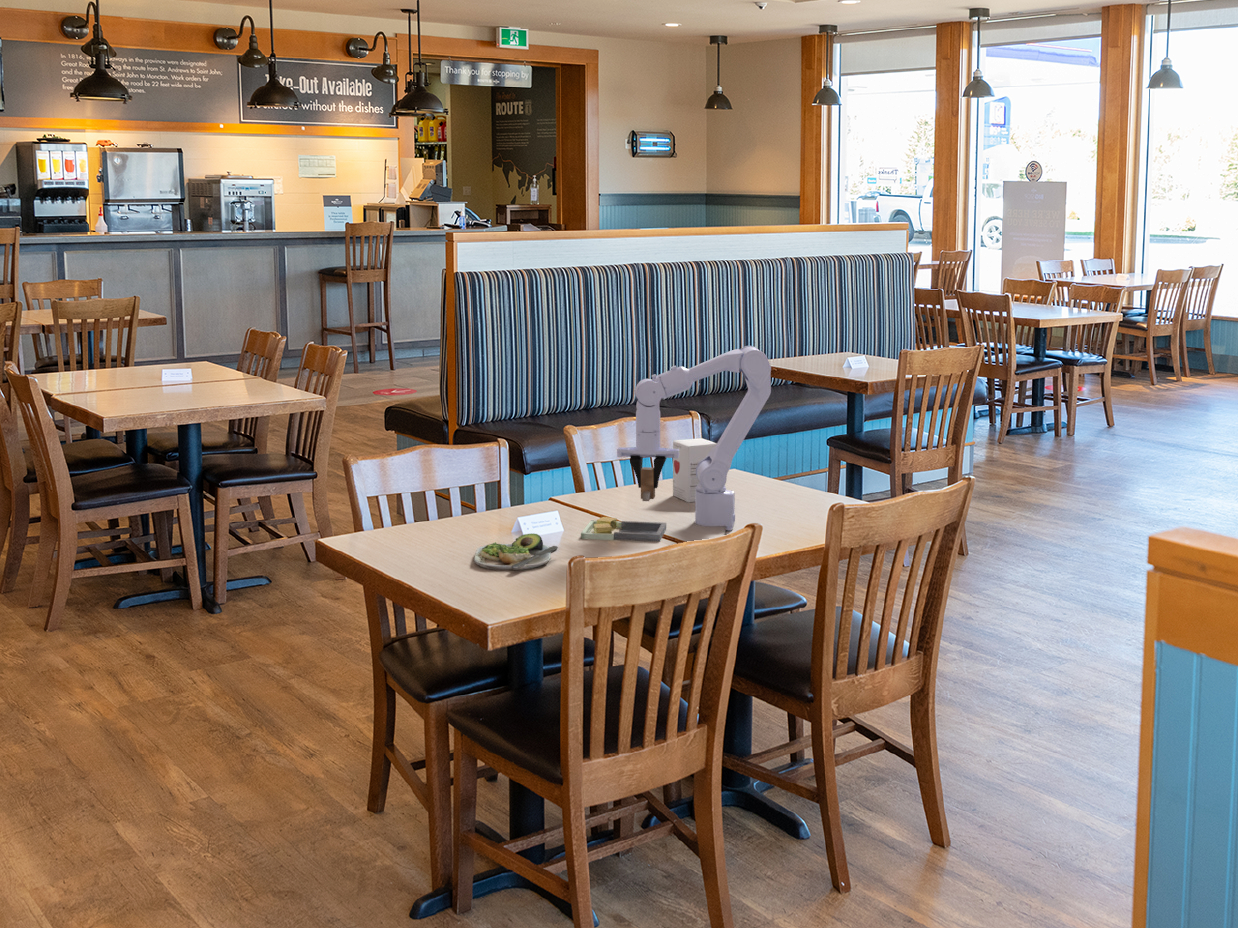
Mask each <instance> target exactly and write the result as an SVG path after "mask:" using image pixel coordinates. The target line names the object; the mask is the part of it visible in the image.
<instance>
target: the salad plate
mask: <svg viewBox="0 0 1238 928" xmlns="http://www.w3.org/2000/svg"><path fill="white" fill-rule="evenodd" d="M558 548H559V547H558V546H557V545H552V546H548V545H546V544H544V542H543V538H542V537H541V536H540V534H538V533H524V534H521V535H519V536H518V537H516V538H515V540H514V541H513V542H512V543H497V542H492V543H489V544H486V545H482V546H480V547H478V548H477V549H476V551H475V555H474V557H473V560H474V564H476V565H478V566H479V567H481V568H483V569H486V570H492V571H493V570H494V571H524V570H529V569H534V568H538V567H541V566H544V565H546V564H547V563H548V562H549V561H550V560H551V553H554V552H555V551H556V550H557V549H558ZM531 555H532V556H531ZM485 560H488V561H494V562H500V563H502V564H491V563H487V562H485Z"/></svg>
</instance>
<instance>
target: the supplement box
mask: <svg viewBox="0 0 1238 928" xmlns="http://www.w3.org/2000/svg"><path fill="white" fill-rule="evenodd" d="M717 443H718V442H714V441H711V440H708V439H706V438H703V437H699V438H689V439H676V440H673V441H672V449H679V458H678V459H674V458H672V496H673V497H675V498H678V499H680V500H683V501H684V502H686V503H695V498H696V486H697V485H698V484H699V482H700V481H699V480H698V478H697V476H696V467H697V465H698V463H699V462H700V461H702V460H703V459H705V458H706V457H707V456H708V454H709V452H710V451H711V450H712V449H713V448H714V447H715V446H716V444H717Z"/></svg>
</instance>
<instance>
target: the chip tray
mask: <svg viewBox="0 0 1238 928" xmlns="http://www.w3.org/2000/svg"><path fill="white" fill-rule="evenodd" d="M621 522H622V521H619V520H616V528H620V529H621ZM594 524H597V520H590V521H589V523H588V524H587V525H586V527H585V528H584V529H583V530H582V532H581V533H580V539H581V540H583V539H584V540H598V541H599V540H603V541H615V540H614V533H612V534H605V533H594V532H591V531H592V530H593V529H594Z"/></svg>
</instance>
